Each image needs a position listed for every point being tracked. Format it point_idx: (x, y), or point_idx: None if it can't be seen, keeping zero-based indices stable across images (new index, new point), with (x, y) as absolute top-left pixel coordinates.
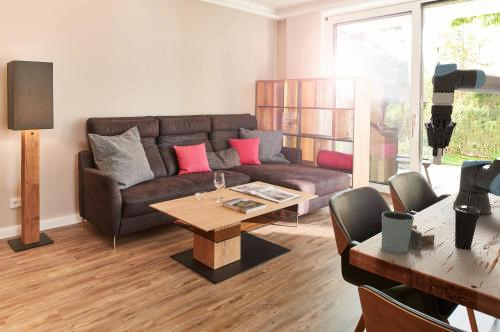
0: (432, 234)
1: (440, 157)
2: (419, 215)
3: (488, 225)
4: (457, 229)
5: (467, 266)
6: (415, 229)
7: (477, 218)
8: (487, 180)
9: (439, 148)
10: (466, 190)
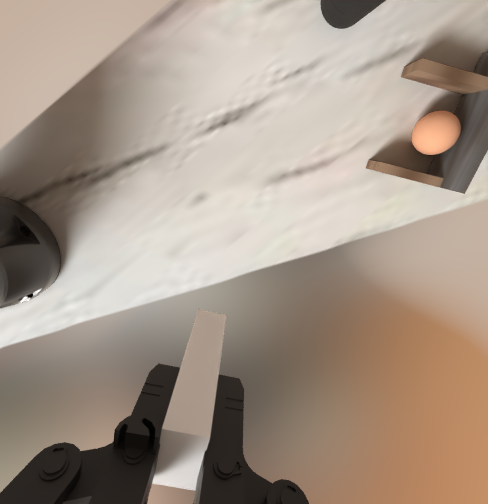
0: (420, 69)
1: (195, 351)
2: (208, 277)
3: (76, 115)
4: None
5: None
6: (441, 123)
7: None
8: None
9: (179, 448)
10: None
